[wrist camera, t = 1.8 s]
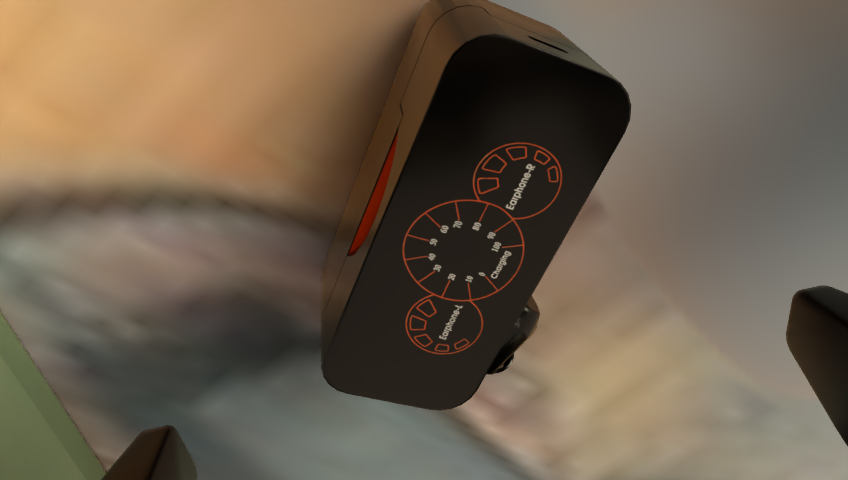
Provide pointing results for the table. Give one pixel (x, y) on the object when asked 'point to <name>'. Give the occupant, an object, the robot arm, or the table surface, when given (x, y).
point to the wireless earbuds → (463, 203)
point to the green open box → (36, 423)
